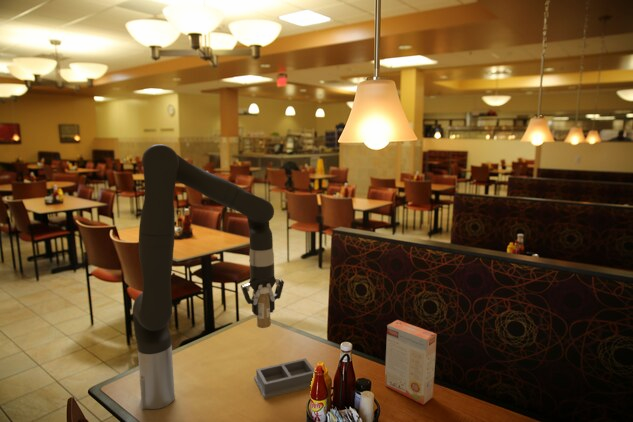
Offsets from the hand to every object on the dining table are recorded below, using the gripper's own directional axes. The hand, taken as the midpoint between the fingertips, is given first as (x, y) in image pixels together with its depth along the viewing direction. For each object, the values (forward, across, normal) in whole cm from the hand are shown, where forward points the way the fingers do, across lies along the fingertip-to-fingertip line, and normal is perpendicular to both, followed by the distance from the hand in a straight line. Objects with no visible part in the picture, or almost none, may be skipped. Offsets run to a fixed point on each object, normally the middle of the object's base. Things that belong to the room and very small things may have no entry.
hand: (263, 312), depth 134 cm
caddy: (+22, +5, -6) cm, 23 cm away
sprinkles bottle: (+5, 0, 0) cm, 5 cm away
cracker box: (+23, +37, -26) cm, 51 cm away
